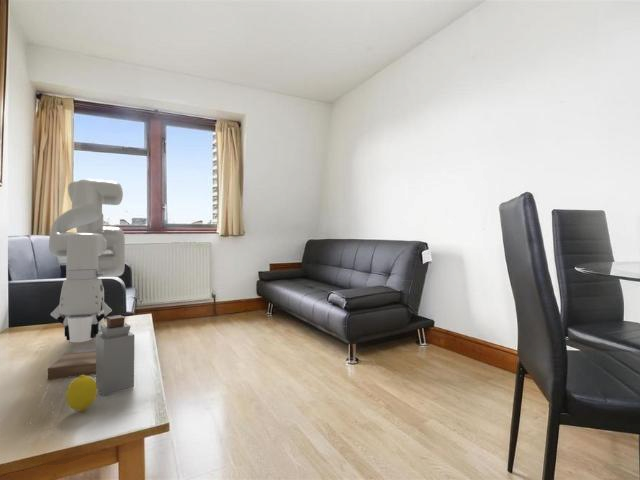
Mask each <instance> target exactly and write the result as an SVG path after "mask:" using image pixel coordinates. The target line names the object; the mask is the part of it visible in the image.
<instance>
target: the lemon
mask: <svg viewBox="0 0 640 480" xmlns="http://www.w3.org/2000/svg"><path fill="white" fill-rule="evenodd" d="M97 395H98V390H97V385H96V379H94V378H93V377H92V376H91V375H80V376H77V377H76V378H74V379H73V380H72V381H71V382H70V383H69V385H68V387H67V390H66V394H65V396H66V397H65V398H66V403H67V405H68V406H69V408H71V409H72V410H75V411H78V412H80V413H81V412H83V411H85V410H86V409H87V408H89V407H90V406H91V405H92V404H93V403H94V402H95V400H96V398H97Z"/></svg>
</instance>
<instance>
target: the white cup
mask: <svg viewBox="0 0 640 480" xmlns="http://www.w3.org/2000/svg"><path fill="white" fill-rule="evenodd" d="M92 321H93V316H90V315H74V316H72V317H68V326H69V337H70V340H68V341H69V342H70V343H83V342H89V341H91V340H93V339H94V338H91V325H92V324H93V322H92Z"/></svg>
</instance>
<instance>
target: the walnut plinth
mask: <svg viewBox="0 0 640 480" xmlns="http://www.w3.org/2000/svg"><path fill="white" fill-rule="evenodd" d="M91 374H94V375H96V350H91V351H81V352H70V353H64V354H63V355H61V356H60V357H59V358H58V359H57V360H55V361H54V362H53V363H52V364H51V365H50V366H49V367H48V368H47V380H55V379H56V380H57V379H64V378H73V377H79V376H80V375H85V376H92V375H91Z"/></svg>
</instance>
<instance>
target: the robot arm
mask: <svg viewBox="0 0 640 480" xmlns="http://www.w3.org/2000/svg"><path fill="white" fill-rule="evenodd" d="M67 192H68V193H67V194H68V196H69V199H70V201H71V208H70V209H69V210H67V211H64V212H63V213H62V214H60V216H58V217H57V218H56V219H54V221H53V223H52V225H51V228H50V234H49V238H48V239H49V240H48V249H49V252H50V253H51V255H53V256H54V257H56V258H57V257H58V258H66V259H65V260H66V261H65V262H66V264H65V265H66V266H65V268H66V269H65V270H66V271H65V272H66V273H65V274H66V275H65V280H63V283H62V287H61V291H60V295H59V296H60V297H59V304H58V305H57V306H56V308H54V310H53V311H52V312H50V317H53V318H54V319H55V320H57V321H58V322H59V323H61V324H62V326H63V327H64V337H65V339H66V341H69V340H70V337H69V326H68V317H72V316H74V315H90V316H93V321H92V322H93V324H92V325H91V338H93V339H94V338H95V337H96V335H97V334H102V331H101V327H100V326H103V325H105V324H104V322H105V317H107V316H108V315H109V314H110V313H111V312H112V311H113V309H112V308H111V307H110V306H109V305H108V304H107V303H106V302H105V289H104V288H105V287H104V285H103V281H102V279H101V278H110V277H111V278H113V277H115V278H116V277H121V276H122V275H124V272H125V268H126V267H125V266H126V265H125V263H126V259H125V258H126V255H125V254H126V248H125V247H126V244H125V243H126V241H125V240H126V237H125V232H124V230H123V229H121V228H120V227H117V226H104V214H103V205H108V206H119V205H120V204H121V203H122V202H123V197H124V194H123V193H124V192H123V188H122V185H121V184H120V183H119V182H117V181H114V180H107V179H106V180H104V179H95V178H94V179H93V178H83V179H80V180H75V181H71V182H70V183H69V184H68V186H67ZM76 228H77V232H74V231H72V232H70V231H71V230H72V229H76ZM68 231H69V232H68ZM106 251H111V252H112V253H105V252H106Z"/></svg>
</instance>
